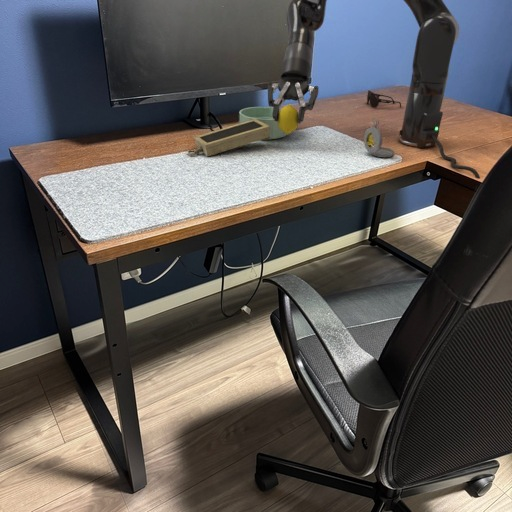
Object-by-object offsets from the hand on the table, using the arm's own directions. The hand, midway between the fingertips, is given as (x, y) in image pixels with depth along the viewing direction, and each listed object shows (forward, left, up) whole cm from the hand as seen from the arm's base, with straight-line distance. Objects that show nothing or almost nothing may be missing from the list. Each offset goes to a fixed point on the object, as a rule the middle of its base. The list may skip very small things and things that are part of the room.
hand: (287, 120), depth 127 cm
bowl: (+14, -1, -7) cm, 16 cm away
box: (+5, +15, -8) cm, 18 cm away
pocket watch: (-14, -20, -8) cm, 26 cm away
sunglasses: (+29, -60, -8) cm, 67 cm away
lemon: (+1, -1, -4) cm, 5 cm away
